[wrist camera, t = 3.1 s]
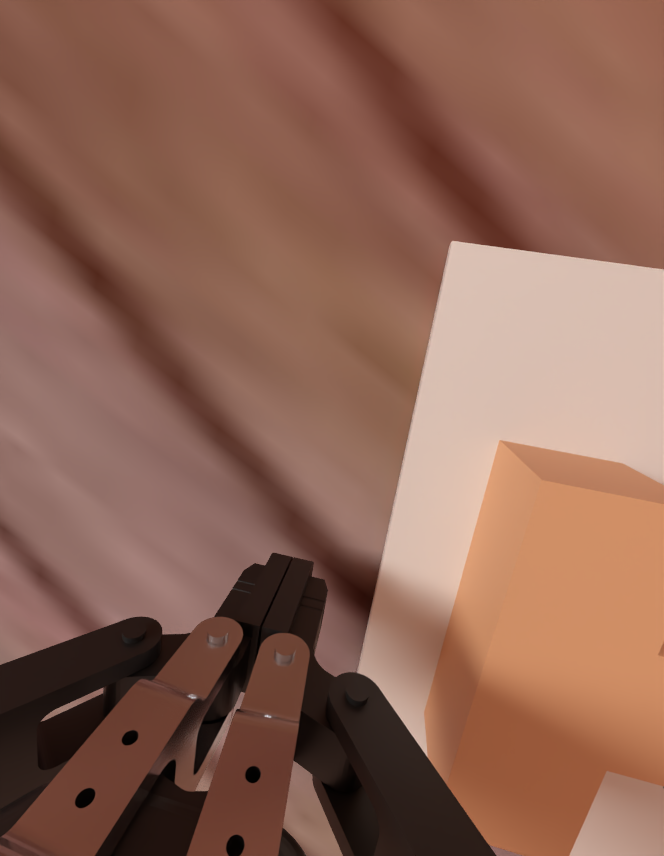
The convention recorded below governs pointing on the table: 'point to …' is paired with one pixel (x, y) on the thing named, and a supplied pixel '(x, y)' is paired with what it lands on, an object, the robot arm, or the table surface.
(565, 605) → the t block
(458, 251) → the board
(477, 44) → the table surface
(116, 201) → the table surface
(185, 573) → the table surface
